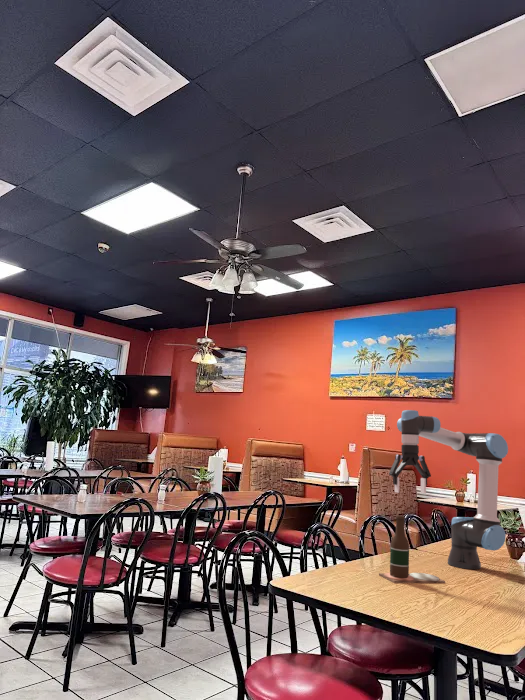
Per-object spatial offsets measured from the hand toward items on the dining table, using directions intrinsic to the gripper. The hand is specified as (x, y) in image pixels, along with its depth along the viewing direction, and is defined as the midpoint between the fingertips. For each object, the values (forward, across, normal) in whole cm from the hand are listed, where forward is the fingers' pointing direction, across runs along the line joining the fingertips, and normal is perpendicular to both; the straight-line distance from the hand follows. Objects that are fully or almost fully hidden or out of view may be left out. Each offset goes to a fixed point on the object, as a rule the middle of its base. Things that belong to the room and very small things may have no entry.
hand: (410, 492), depth 226 cm
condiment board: (+34, +4, +7) cm, 35 cm away
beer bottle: (+33, +10, +7) cm, 35 cm away
